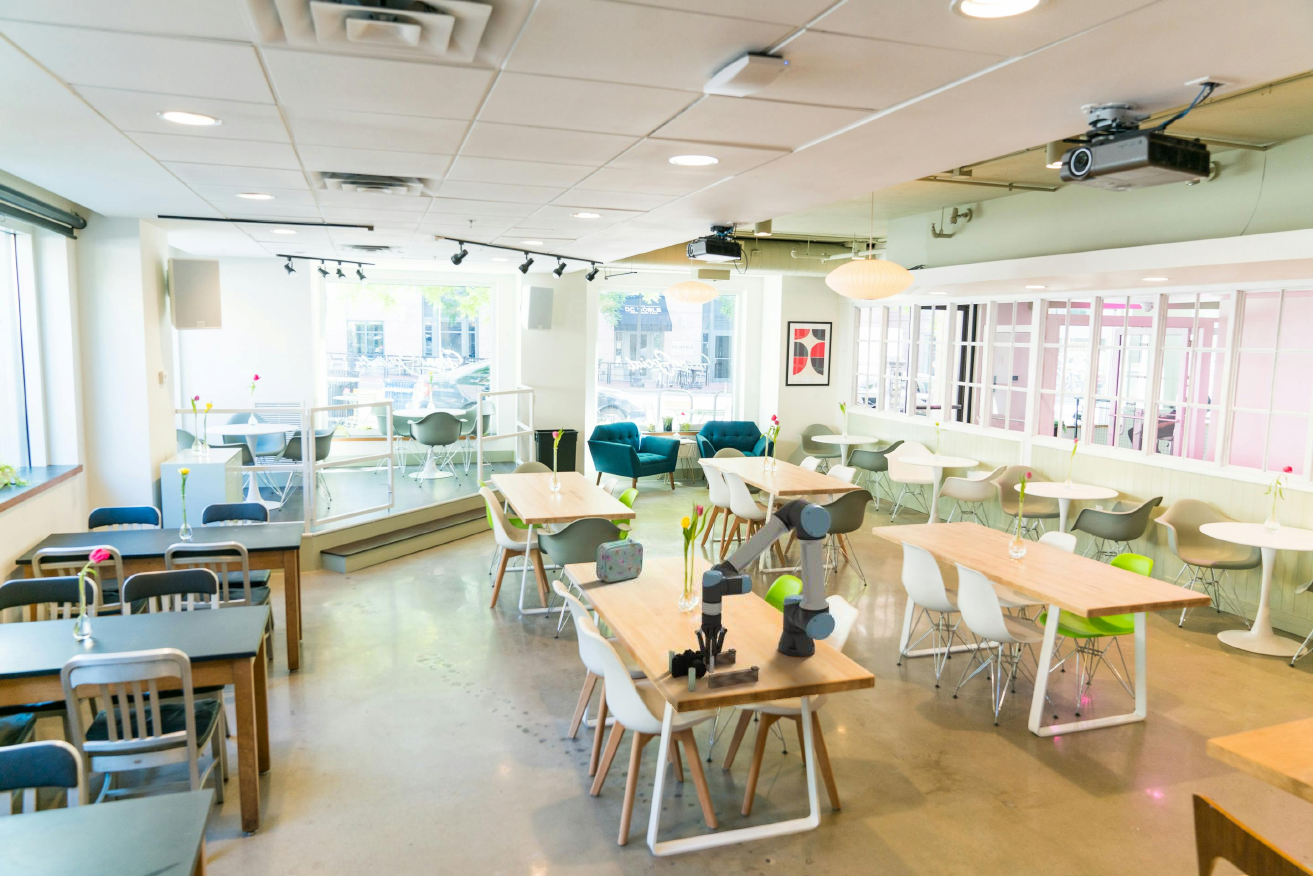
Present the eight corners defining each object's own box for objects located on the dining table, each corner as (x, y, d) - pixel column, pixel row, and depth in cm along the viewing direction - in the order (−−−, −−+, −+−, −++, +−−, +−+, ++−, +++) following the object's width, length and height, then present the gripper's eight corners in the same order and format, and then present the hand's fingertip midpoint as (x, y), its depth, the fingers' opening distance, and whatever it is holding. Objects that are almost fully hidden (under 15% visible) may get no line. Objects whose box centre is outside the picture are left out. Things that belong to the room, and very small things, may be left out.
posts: (673, 669, 321) (673, 649, 320) (696, 690, 301) (696, 669, 300) (667, 670, 320) (668, 650, 319) (690, 691, 300) (690, 670, 300)
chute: (733, 660, 331) (733, 648, 330) (759, 680, 311) (759, 668, 310) (687, 667, 323) (687, 654, 323) (710, 688, 303) (710, 675, 303)
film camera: (683, 684, 307) (683, 660, 306) (668, 675, 315) (668, 652, 314) (715, 675, 316) (715, 652, 315) (700, 667, 324) (700, 644, 323)
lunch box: (633, 572, 457) (633, 534, 455) (645, 576, 449) (645, 538, 447) (594, 581, 440) (594, 541, 438) (605, 585, 432) (605, 545, 430)
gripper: (722, 607, 318) (721, 666, 321) (691, 610, 313) (690, 670, 316) (731, 613, 311) (730, 673, 314) (700, 616, 306) (699, 677, 309)
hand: (710, 671), depth 315 cm, fingers closed
